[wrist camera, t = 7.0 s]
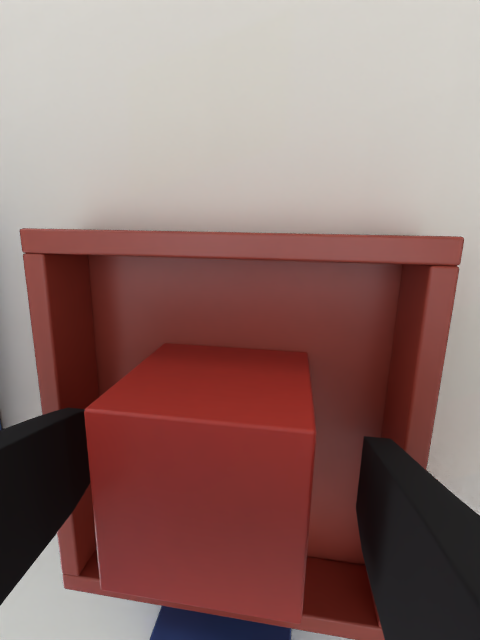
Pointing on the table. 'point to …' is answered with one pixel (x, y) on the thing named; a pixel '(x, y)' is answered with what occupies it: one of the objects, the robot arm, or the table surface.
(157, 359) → the red block
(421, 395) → the red tray
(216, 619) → the blue block
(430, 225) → the table surface
